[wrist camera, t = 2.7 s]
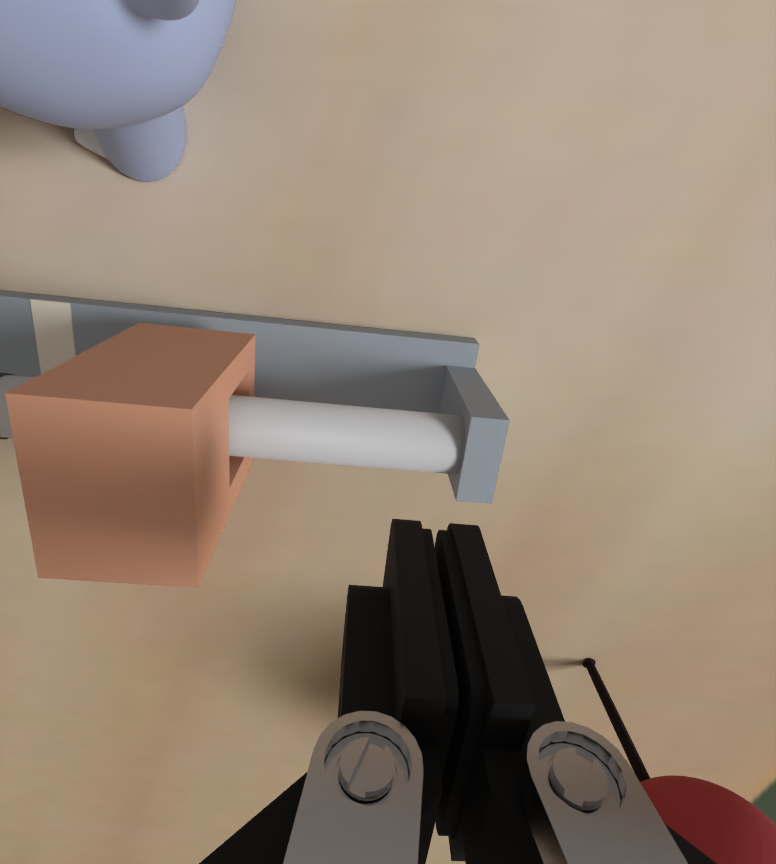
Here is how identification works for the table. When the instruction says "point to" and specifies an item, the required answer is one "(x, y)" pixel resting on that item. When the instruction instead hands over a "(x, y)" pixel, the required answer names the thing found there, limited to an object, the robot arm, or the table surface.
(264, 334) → the rail
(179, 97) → the hippopotamus toy
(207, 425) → the collar
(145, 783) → the table surface
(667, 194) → the table surface
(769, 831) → the lollipop
